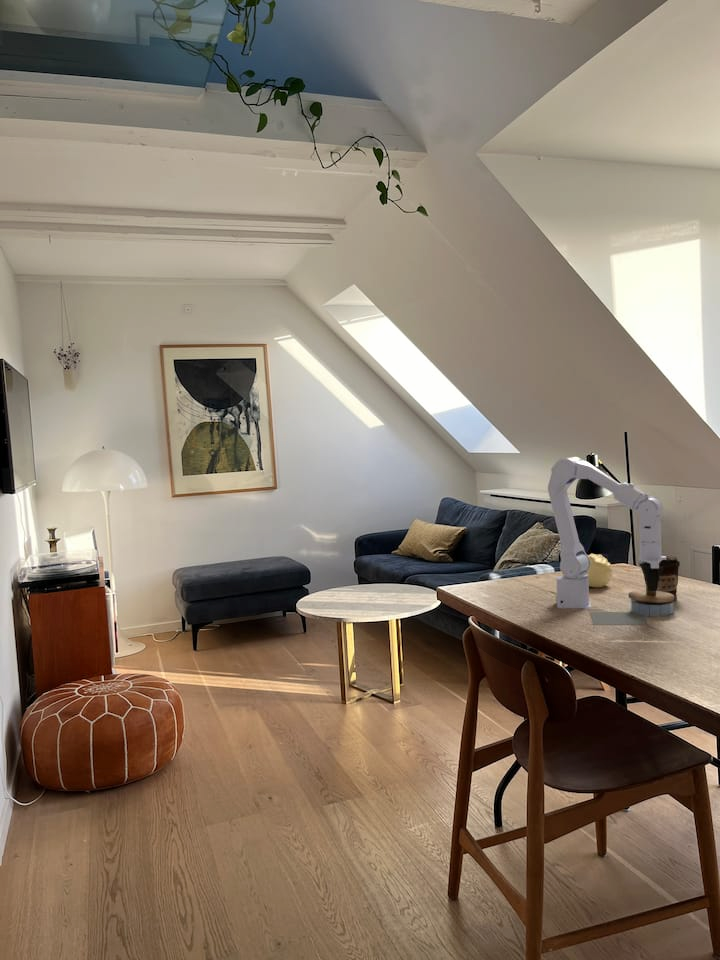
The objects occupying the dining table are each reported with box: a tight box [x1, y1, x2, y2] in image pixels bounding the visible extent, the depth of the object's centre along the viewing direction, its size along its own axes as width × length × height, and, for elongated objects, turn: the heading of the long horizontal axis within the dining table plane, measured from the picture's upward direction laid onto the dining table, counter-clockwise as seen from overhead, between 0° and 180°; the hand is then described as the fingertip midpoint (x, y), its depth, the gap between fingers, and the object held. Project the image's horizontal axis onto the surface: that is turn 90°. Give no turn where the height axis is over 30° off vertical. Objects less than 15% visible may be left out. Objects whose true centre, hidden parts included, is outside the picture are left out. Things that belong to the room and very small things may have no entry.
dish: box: [630, 599, 675, 617], centre depth 215 cm, size 11×11×4 cm
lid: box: [627, 582, 674, 603], centre depth 215 cm, size 12×12×6 cm
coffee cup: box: [657, 556, 681, 602], centre depth 228 cm, size 9×8×13 cm
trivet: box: [588, 611, 650, 626], centre depth 210 cm, size 14×14×1 cm
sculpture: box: [587, 553, 613, 588], centre depth 254 cm, size 12×12×11 cm
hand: (651, 589), depth 215 cm, fingers open, 3 cm apart
